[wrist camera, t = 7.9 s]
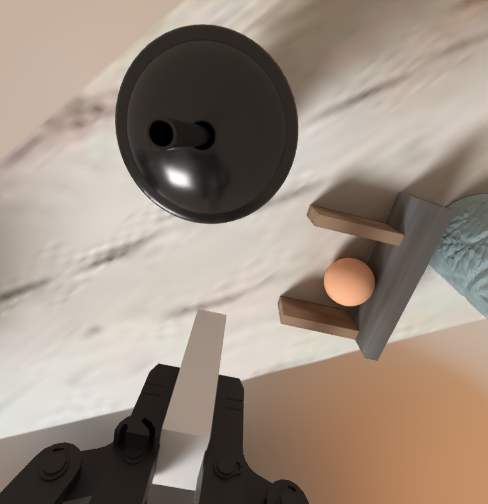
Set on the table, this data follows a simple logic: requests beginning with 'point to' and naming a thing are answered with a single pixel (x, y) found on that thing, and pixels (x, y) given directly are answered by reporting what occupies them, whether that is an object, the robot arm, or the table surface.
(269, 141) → the drinking cup
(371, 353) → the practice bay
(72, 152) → the table surface
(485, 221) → the blue-grey embossed pot
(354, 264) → the ball
